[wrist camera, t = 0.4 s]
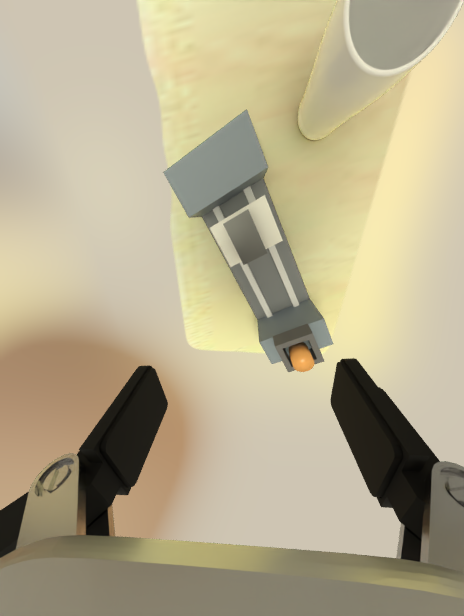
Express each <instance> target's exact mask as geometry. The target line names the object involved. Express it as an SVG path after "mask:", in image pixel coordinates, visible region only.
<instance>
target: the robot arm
mask: <svg viewBox="0 0 464 616" xmlns="http://www.w3.org/2000/svg"><path fill="white" fill-rule="evenodd" d="M167 405H168V402H167V399H166V397H165V394H164V391H163V389H162V386H161V384H160V381H159V378H158V376H157V373H156V371H155V369H154V368H152V367H151V366H139V367H138V368H137V369H136V371H135V372H134V373H133V375H132V376H131V378H130V379H129V380H128V382H127V383H126V385H125V386H124V387H123V389H122V390H121V392H120V393H119V394H118V396H117V397H116V399H115V400H114V402H113V403H112V404H111V406H110V407H109V408H108V410H107V411H106V412H105V414H104V415H103V417H102V418H101V419H100V421H99V422H98V424H97V425H96V426H95V428H94V429H93V431H92V432H91V433H90V435H89V436H88V438H87V439H86V440H85V442H84V443H83V445H82V446H81V447H80V449H79V450H80V451H79V452H78V454H77V455H76V454H71V453H70V454H66V455H63V456H61V457H59V458H57V459H55V460H54V461H52V462H51V463H50V464H49V465H47V466H46V467H45V468H44V469H43V470H42V471H41V472H40V473H39V475H38V476H37V477H36V478H35V480H34V482H33V483H32V485H31V487H30V490H29V492H27V493H26V494H24V495H23V496H21V497H20V498H18V499H17V500H16V501H14V502H12V503H11V504H9V505H8V506H6V507H5V508H3V509H2V510H0V616H464V467H462V466H460V465H458V464H455V463H451V462H446V461H444V462H440V461H439V460H438V458H437V457H436V456H435V455H434V453H433V452H432V451H431V449H430V448H429V447H428V446H427V444H426V443H425V442H424V441H423V439H422V438H421V437H420V436H419V434H418V433H417V432H416V430H415V429H414V428H413V427H412V425H411V424H410V423H409V422H408V420H407V419H406V418H405V416H404V415H403V414H402V413H401V411H400V410H399V409H398V408H397V406H396V405H395V404H394V402H393V401H392V400H391V399H390V397H389V396H388V395H387V394H386V392H385V391H384V390H383V389H381V388H379V387H377V385H376V384H375V383H374V381H373V380H372V379H371V378H370V376H369V375H368V374H367V372H366V371H365V370H364V368H363V367H362V366H361V365H360V363H359V362H358V361H357V360H356V359H342V360H341V361H340V362H338V363H337V367H336V372H335V378H334V383H333V389H332V395H331V406H332V408H333V411H334V413H335V415H336V417H337V420H338V422H339V424H340V426H341V428H342V431H343V433H344V435H345V437H346V440H347V442H348V444H349V446H350V448H351V451H352V453H353V455H354V458H355V460H356V462H357V464H358V467H359V469H360V471H361V473H362V476H363V478H364V480H365V482H366V485H367V487H368V489H369V491H370V493H371V494H372V496H374V497H377V499H378V501H379V503H380V506H381V507H389V508H393V509H394V511H395V513H396V515H397V517H398V519H399V521H400V522H401V527H400V535H399V542H398V550H397V558H387V557H376V556H367V555H357V554H347V553H334V552H322V551H309V550H297V549H283V548H271V547H258V546H244V545H231V544H218V543H217V544H216V543H203V542H189V541H176V540H161V539H146V538H131V537H115V529H114V518H113V507H112V503H113V500H114V498H115V496H116V495H128V494H129V491H130V489H131V487H133V486H134V485H135V483H136V482H137V480H138V477H139V475H140V472H141V470H142V467H143V465H144V462H145V460H146V458H147V455H148V453H149V451H150V448H151V446H152V443H153V441H154V438H155V435H156V433H157V431H158V429H159V426H160V424H161V421H162V419H163V417H164V414H165V412H166V409H167Z"/></svg>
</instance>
